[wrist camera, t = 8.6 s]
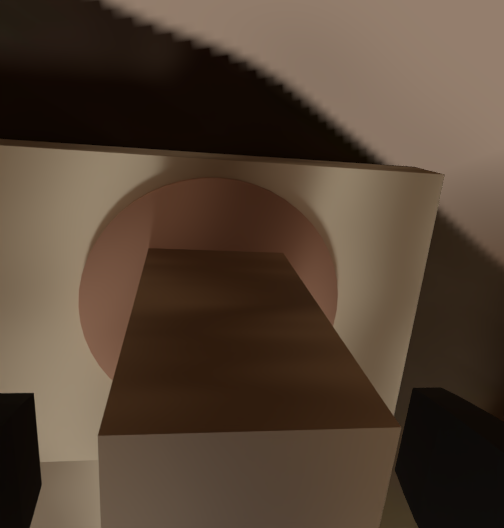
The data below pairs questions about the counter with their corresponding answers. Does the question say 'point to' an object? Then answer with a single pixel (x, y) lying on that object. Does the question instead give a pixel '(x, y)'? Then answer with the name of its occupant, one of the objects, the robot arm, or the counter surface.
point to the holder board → (192, 238)
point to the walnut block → (239, 405)
